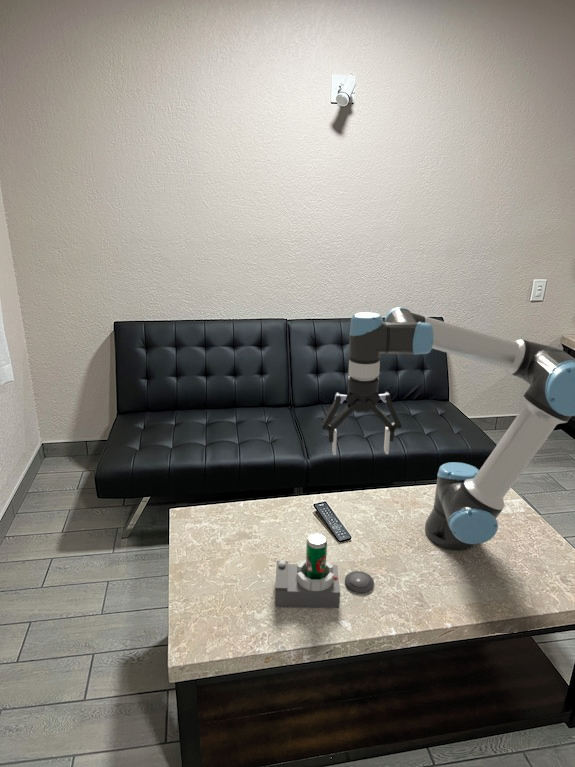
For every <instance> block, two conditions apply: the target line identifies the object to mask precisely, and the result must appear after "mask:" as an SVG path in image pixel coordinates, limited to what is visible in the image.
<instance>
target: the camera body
mask: <svg viewBox="0 0 575 767" xmlns="http://www.w3.org/2000/svg"><path fill="white" fill-rule="evenodd" d="M338 569H339V568H338V564H332V563H331V562H330V561H328V560H327V559H326V574H325V578H323V579H320V580H312V579H310V578H307V577H306V558H305V559H302V560H301V561H300V562H299V563H298V564H297V563H289V560H276V567H275V570H276V571H275V588H274V595H275V596H274V599H275V600H274V602H275V603H274V604H275V605H274V607H276V608H300V609H301V608H305V609H306V608H311V609H312V608H314V609H340V603H341V602H340V600H341V588H340V579H339V570H338Z"/></svg>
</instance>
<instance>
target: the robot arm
mask: <svg viewBox="0 0 575 767" xmlns="http://www.w3.org/2000/svg"><path fill="white" fill-rule="evenodd" d="M348 343H349V345H348V346H349V347H348V348H349V350H348V351H349V352H348V376H347V393H346V394H341V393H340V392H335V393H334V394H335V395H334V399H333V401H332V404H331V406H330V407H329V408H328V410H327V413H326V414H325V416H324V417H323V420H322V421H321V428H322V430H325V431H328V432H327V433H328V436H327V437H328V438H327V440H328V442H329V443H331V444H332V445H331V446H332V447H331V451H332V456H337V439H338V436H337V434H338V433H337V432H338V431H337V428H338V427H339V426H340V425H341V424H342V423H343V422H344V421H345V419H347V417H349V415H351V414H352V413H353V412H354V411H355V412H356V413H360V412H365V413H368V412H369V413H370V411H371V410H372V411H373V413H374V414H375V415H376V416H377V417H378V418H379V419H380V420H381V421H382V422H383V424H385V427H384V442H383V443H384V444H383V450H384V454H385V455H389V453H390V442H393V441H394V438H395V437H394V436H395V432H396V430H397V429H401V428H402V427H403V425H402V422H401V421H400V419H399V416H398V414H397V412H396V411H395V408H394V406H393V404H392V396H391V395H390V392H389V391H385V392H384V393H379V384H380V382H379V381H380V378H379V376H380V369H381V368H380V366H381V365H380V364H381V354H391V355H392V354H393V355H413V356H414V355H415V356H417V355H428V354H430V353H431V351H432V350H435V351H436V350H437V351H440V352H443V353H447V354H449V355H450V354H451V355H454V356H458V357H461V358H465V359H469V360H472V361H476V362H478V363H479V362H480V363H483V364H486V365H490V366H493V367H497V368H500V369H504V370H505V372H506V374H508V375H512V376H515V377H517V378H519V379H521V380H523V381H524V382H526V383H527V384H529V387H528V388H527V390H526V391H525V393H524V394H523V396H522V397H523V401H524V405H523V406H522V408H521V410H520V412H519V413H518V414H517V415H516V417H515V419H514V420H513V421H512V423H511V424H510V426H509V427H508V429H507V430H506V431H505V433H504V434H503V436H502V437H501V438H500V440H499V441H498V443H497V445H496V446H495V447H494V449H493V450H492V451H491V453H490V455H489V456H488V457H487V459H485V461H484V463H483V465H482V466H481V467H480V469H479V468H477V467H476V466H473V465H471V464H468V463H464V462H452V461H451V462H446V463H443V464H442V465H440V466H439V469H438V472H437V474H436V475H437V479H436V486H435V496H434V503H433V508H432V509H431V512H430V513H429V514H428V517H427V519H426V520H425V523H424V524H425V525H424V533H425V535H426V537H427V538H428V540H429V541H431V542H432V543H433V544H435V545H437V546H439V547H441V548H444V549H449V550H455V551H456V550H457V551H461V550H462V551H463V550H466V549H470V548H472V547H473V546H474V545H478V544H484V543H487V542H489V541H490V540H492V539H493V538H494V537H495V535H496V534H497V532H498V530H499V528H498V527H499V522H498V520H497V518H498V517H499V515H500V514H501V513H502V511H503V510H504V508H505V501H504V498H505V496H506V495H507V493H508V492H509V491H510V489H511V488H512V487H513V486H514V484H515V482H517V480H518V479H519V477H520V476H521V474H522V473H523V472H524V470H525V469H526V468H527V466H528V465H529V464H530V462H531V461H532V459H533V458H534V457H535V456H536V454H537V453H538V451H539V450H540V449H541V448H542V446H543V444H544V443H545V442H546V440H547V439H548V438H549V436H550V435H551V433H552V432H553V431H554V429H555V428H556V426H557V425H559V424H566V423H568V422H569V420H570V419H571V417H575V358H574V357H573V356H572V355H570V354H569V353H568V352H566V351H565V350H562V349H560V348H557V347H555V346H551V345H547V344H542V343H537V342H534V341H529V340H527V339H521V338H519V339H516V340H511V339H509V338H503V337H500V336H496V335H493V334H489V333H485V332H483V331H478V330H475V329H472V328H468V327H465V326H460V325H457V324H454V323H450V322H446V321H444V320H443V321H442V320H439V319H435V318H432V317H429V316H426V315H425V316H424V315H422V314H417V313H414V312H411V311H410V309H408V308H405V307H402V306H397V307H393V308H392V309H390V310H389V311H388V312H387V314H386V316H385V318H384V320H383V316H382V315H381V314H379V313H377V312H371V311H364V312H363V311H361V312H357V313H354V314H353V315H352V316H351V318H350V327H349V342H348ZM380 400H381V401H382V402H383V403H385V404H386V407H387V409H388V411H389V413H390V415H391V417H392V420H393V422H392V421H391V420H390V419H389V418H388V417H387V415H386V414H385V413H384V412H383V411H382V410H381V409H380V407H379V406H378V402H380ZM344 401H346V402H347V404H346V405H345V406H344V408H343V409H342V410H341V411H340V412H339V413H338V414H337V415H336V413H337V412H338V410H339V407H340V405H341V404H343V403H344ZM335 415H336V416H335ZM334 417H335V418H334ZM333 418H334V419H333Z"/></svg>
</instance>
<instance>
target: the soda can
mask: <svg viewBox="0 0 575 767" xmlns="http://www.w3.org/2000/svg"><path fill="white" fill-rule="evenodd" d="M305 550H306V551H305V552H306V555H305V559H306V577H307V578H310V579H312V580H320V579H323V578H325V574H326V560H327V553H328V541H327V540H326V537H325V536H324V534H321V533H313V534H310V535H309V536H308V537H307V540H306V549H305Z"/></svg>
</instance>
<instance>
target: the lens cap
mask: <svg viewBox="0 0 575 767" xmlns="http://www.w3.org/2000/svg"><path fill="white" fill-rule="evenodd" d="M344 585H345V587H346V588H347V589H348V590H349V591H350V592H352V593H354V594H359V595H362V594H363V595H365V594H367V593H370V592H371V591H373V589H374V585H375V580H374V579H373V577H372V576H371V575H370V574H368V573H367V572H365V571H361V570H354V571H351V572H349V573H347V575H345V579H344Z"/></svg>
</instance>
